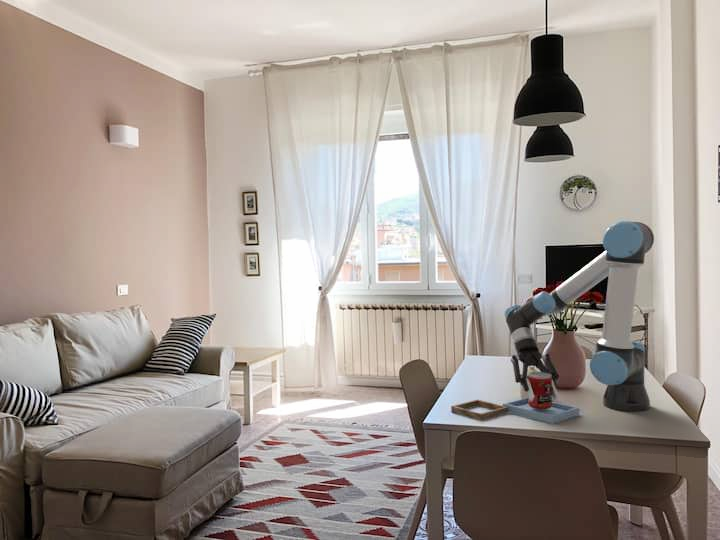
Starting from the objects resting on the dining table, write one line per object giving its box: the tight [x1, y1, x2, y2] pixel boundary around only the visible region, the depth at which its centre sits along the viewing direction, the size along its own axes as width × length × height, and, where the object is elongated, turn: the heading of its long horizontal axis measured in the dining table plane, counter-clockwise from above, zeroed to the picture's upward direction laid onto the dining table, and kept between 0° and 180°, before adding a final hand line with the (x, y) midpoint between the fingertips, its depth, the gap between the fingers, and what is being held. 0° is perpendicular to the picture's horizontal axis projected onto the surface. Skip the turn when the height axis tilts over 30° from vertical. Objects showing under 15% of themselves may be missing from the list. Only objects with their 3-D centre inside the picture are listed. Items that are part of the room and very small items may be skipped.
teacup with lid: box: [519, 366, 541, 399], centre depth 224 cm, size 12×9×12 cm
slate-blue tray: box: [502, 397, 580, 424], centre depth 202 cm, size 20×15×2 cm
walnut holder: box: [450, 399, 509, 421], centre depth 204 cm, size 14×14×2 cm
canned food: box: [528, 371, 553, 409], centre depth 202 cm, size 8×8×11 cm
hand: (544, 398), depth 198 cm, fingers closed on canned food, 8 cm apart
